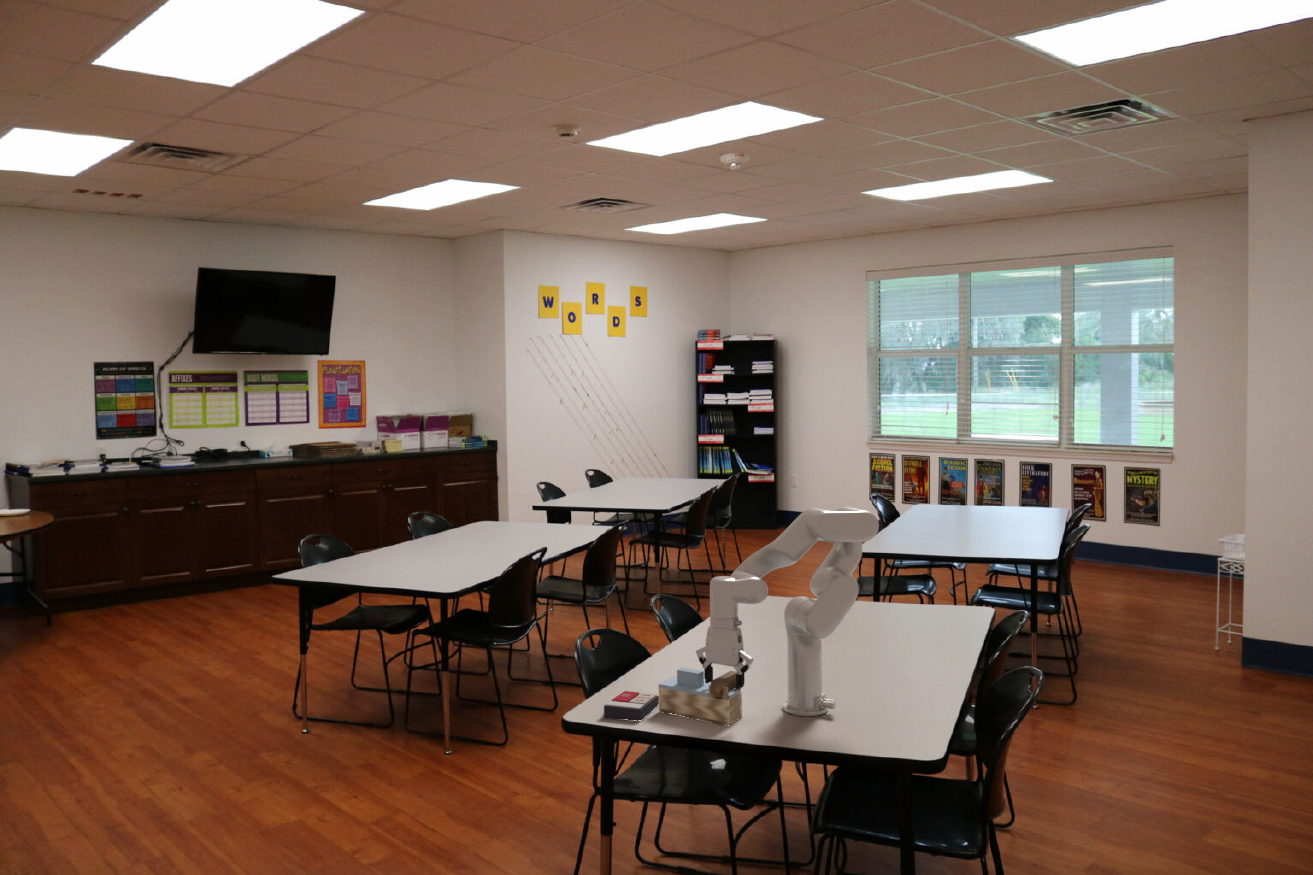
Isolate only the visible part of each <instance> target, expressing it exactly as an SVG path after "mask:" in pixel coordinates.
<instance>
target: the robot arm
mask: <svg viewBox="0 0 1313 875" xmlns="http://www.w3.org/2000/svg"><path fill="white" fill-rule="evenodd" d="M879 527H880V523H879V520H878V517H877V516H876V514H874V513H872V512H871V511H868V510H865V509H859V508H855V507H851V506H841V507H840V508H839V507H838V508H837V509H836V510H835V511H832V510H826V509H822V508H817V507H810V508H806V509H805V510H804V511H802V512H801V513H800V514H799V515H798V516H797V517H796V518H795V519H794V520H793V521H792V523H790V524H789V525H788V527H787V528H786V529H785V530H783V532H782V533H781V534H780V535H778V536H777V537H776V538H775V540H773V541H772V542H770V543H768V544H767V545H764V546H763V547H762V548H760V549H759V550H756V551H755V552H754V553H752V554H750V555H749V556H747V558H746V559H745V560H744V561H742V562H741V564H739V565H738V566H737V568H736V569H734V570H733V572H732V573H731V574H730V576H727V575H718V576H715V577H714V576H713V578H711V579H710V582H709V623H710V624H709V626H707V630H706V631H707V632H706V639H705V646H703V647H701V648H699V649H697V650H695V654H696V656H697V658H698V662H700V664H701V665H702V668H703V669H704V670H703V671H704V682H705V683H711V681H712V680H714V667H713V666H712V665H713V664H716V665H722V666H726V667H732V668H733V669H735V670H734V671H735V672H737V673H738V674H736V689H740V688H741V689H742V688H744V686H745V674H746V673H747V671H748V670H749V669H750V668H751V665H752V664H753V663H754V657H752V656H750V655H749V654H748V653H746V652H745V645H744V637H743V632H742V628H741V627H740V626H742V624H743V620H740V619H739V615H738V614H739V608H738V607H739V604H744V605H746V604H747V605H758V604H761V603H762V602H764V601H765V600H766V599H767V597H768V594H769V587H768V584H767V583H766V581H765V580H764V579H763V578H764V577H765V576H766V575H768V574H769V573H771V572H773V571H775V570H777V569H781V568H787V567H789V566H792V565H794V564H796V563H798V561H800V560H801V558H803V556H804V555H805V554H807V552H808V551H809V550H810V549H812V547H813V546H814V545H815V544H816V543H817V542H819V541H821V542H825V543H833V546H832V548H831V549H830V551H829V553H827V556H826V557H825V559H824V560H823V561H822V563H821V564H820V565H819V567H818V568H817V569H816V571H815V572H814V573H813V574H812V577H811V578H810V581H809V589H810V591H811V593H812V594H813V595H814V596H815V597H817V599H816V600H815V599H812V598H810V597H808V596H801V595H800V596H795V597H793V598H791V599H790V600H789V601H788V602H787V603H786V605H785V609H784V616H783V618H784V625H785V626H784V627H785V630H786V639H787V641H786V642H787V656H786V657H787V700H785V701H783V702H782V706H781V707H782V710H783V711H784V712H786V713H787V714H790V715H794V716H798V717H799V716H800V717H814V716H815V717H816V716H820V715H823V714H825V713H827V712H828V710H829V709H830V710H835V709H836V702H835V700H834V699H828V698H827V696H826V692H823V657H822V656H823V647H822V646H823V645H822V640H823V639H827V638H828V637H830V636H831V635H832V634H833V633H834V632H835V631H836V630H837V628H838V627H839V625H841V623H842V621H843V620H844V619H845V617H846V616H847V614H849V612H850V610H851V609H852V608H853V605H854V604H855V603H856V601H857V598H858V595H859V584H858V581H857V579H856V578H855V576H854V575H853V574H854V572H855V570H856V569H857V567H858V565H859V564H860V561H861V560H862V557H863V542H867V541H870V540H872V539H874V538H875V536H877V534H878V531H879V529H880V528H879ZM704 655H705V656H704ZM743 663H745V664H743Z"/></svg>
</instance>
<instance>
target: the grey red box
mask: <svg viewBox="0 0 1313 875" xmlns="http://www.w3.org/2000/svg"><path fill="white" fill-rule="evenodd" d="M658 704H659V695H658V694H657V693H649V692H638V691H628V690H624V691H622V692H621V693H620V694H617V696H615V697H614V698H612V699H611V700H610V701H609V702H607V703H606V704H605V705H603V718H604V719H608V718H609V719H610V720H617V719H628V720H637V721H638V720H642V719H643V718H644V717H645V716H646V715H647V714H648V713H649V714H650V713H652V712H653V711H654V710H655V709H656V708H657V707H658V706H659V705H658ZM657 705H658V706H657ZM655 707H656V708H655ZM654 708H655V709H654ZM653 709H654V710H653ZM652 710H653V711H652ZM651 711H652V712H651ZM649 714H648V715H649ZM648 715H647V716H648ZM647 716H646V717H647ZM646 717H645V718H646ZM645 718H644V719H645ZM609 719H608V720H609ZM644 719H643V720H644ZM643 720H642V721H643Z"/></svg>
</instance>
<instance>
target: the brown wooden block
mask: <svg viewBox="0 0 1313 875" xmlns="http://www.w3.org/2000/svg"><path fill="white" fill-rule="evenodd" d="M736 674H738V673H737V671H736V670H729V671H727V672H726V673H723V674H722V675H720V676H718V677H716V678H713V680H712V681H711V682H710V683H711V696H714V697H720V696H722V695H723V691H722V688H723V687H728V692H729V691H731V690H733V689H735V681H736Z"/></svg>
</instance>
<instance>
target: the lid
mask: <svg viewBox="0 0 1313 875" xmlns="http://www.w3.org/2000/svg"><path fill="white" fill-rule="evenodd" d="M709 685H711V682H709V683H705V678H704V670H699V669H693V668H687V667H680V668H678V669H677V670H676V676H672V677H670V678H668V679H666V680H664V681H662V682H660V683H658V689H659V688H664V689H669V690H674V691H680V692H685V693H690V694H695V695H701V696H706V697H709ZM738 694H739V690H736V689H733V690H731V691H729V692H728V699H731V698H733V697H735V696H736V695H738ZM720 697H721V698H723V695H722V696H720Z"/></svg>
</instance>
